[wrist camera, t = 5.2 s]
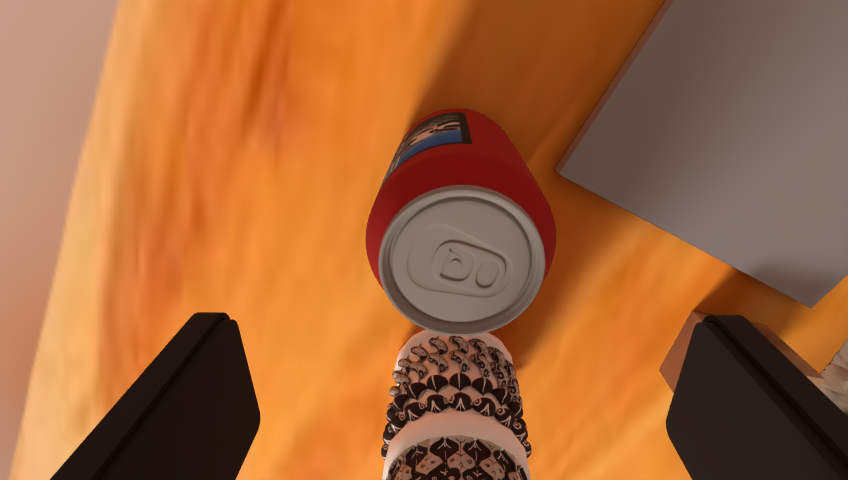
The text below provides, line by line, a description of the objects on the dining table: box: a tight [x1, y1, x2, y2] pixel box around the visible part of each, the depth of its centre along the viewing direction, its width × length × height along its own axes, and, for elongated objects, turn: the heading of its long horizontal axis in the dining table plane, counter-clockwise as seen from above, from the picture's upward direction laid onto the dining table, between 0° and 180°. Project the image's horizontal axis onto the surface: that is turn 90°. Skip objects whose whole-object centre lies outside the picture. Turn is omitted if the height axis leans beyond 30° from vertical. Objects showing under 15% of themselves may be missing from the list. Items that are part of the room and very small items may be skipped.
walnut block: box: [659, 311, 825, 393], centre depth 27 cm, size 5×5×5 cm
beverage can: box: [366, 109, 556, 336], centre depth 19 cm, size 7×7×12 cm
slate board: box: [555, 0, 848, 308], centre depth 23 cm, size 18×15×1 cm
